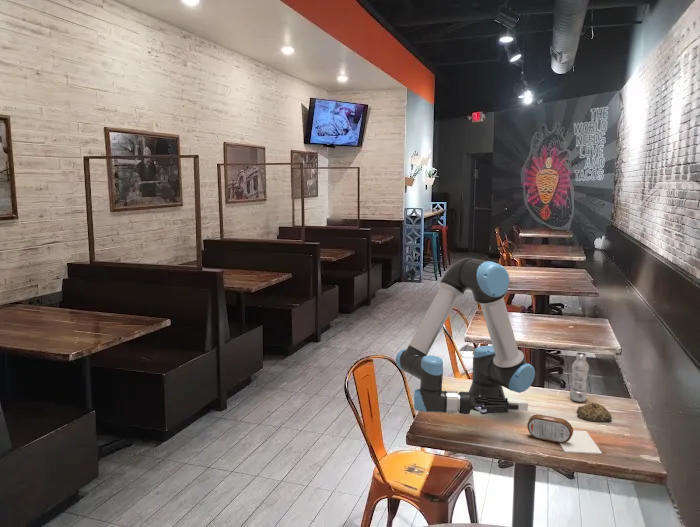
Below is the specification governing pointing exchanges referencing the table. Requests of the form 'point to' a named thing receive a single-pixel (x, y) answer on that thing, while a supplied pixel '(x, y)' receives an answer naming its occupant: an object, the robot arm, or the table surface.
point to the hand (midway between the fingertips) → (527, 406)
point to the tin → (550, 428)
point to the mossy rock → (594, 413)
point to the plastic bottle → (579, 378)
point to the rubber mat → (580, 444)
